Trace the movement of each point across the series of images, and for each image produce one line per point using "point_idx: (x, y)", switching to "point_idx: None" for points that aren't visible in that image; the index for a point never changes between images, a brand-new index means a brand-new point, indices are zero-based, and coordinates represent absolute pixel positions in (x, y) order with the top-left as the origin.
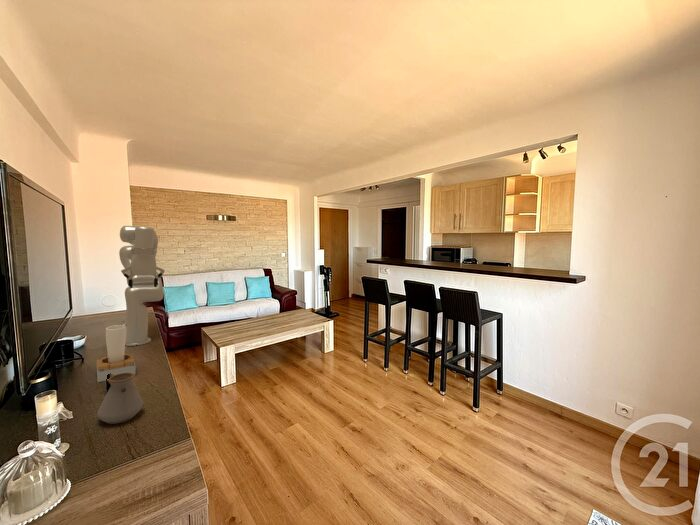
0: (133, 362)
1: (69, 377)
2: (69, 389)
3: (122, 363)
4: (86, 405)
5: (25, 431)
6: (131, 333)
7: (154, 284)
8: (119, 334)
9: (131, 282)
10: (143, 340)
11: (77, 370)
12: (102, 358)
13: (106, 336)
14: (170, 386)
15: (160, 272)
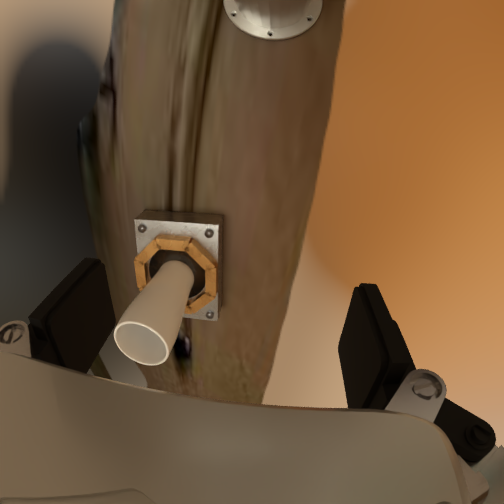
0: (214, 300)
1: (101, 233)
2: (115, 298)
3: (189, 311)
4: (151, 367)
5: (107, 378)
6: (244, 10)
7: (348, 343)
8: (158, 352)
9: (82, 365)
10: (291, 24)
11: (108, 194)
12: (144, 254)
13: (127, 331)
14: (266, 385)
15: (467, 484)
